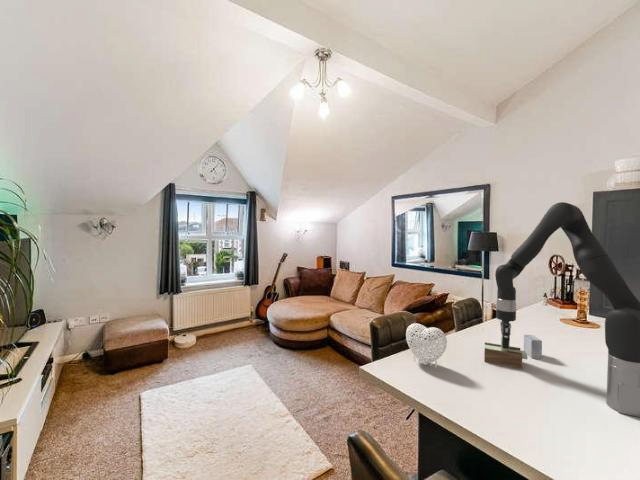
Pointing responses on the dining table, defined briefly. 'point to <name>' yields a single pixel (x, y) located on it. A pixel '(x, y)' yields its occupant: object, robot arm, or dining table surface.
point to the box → (503, 356)
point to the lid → (524, 354)
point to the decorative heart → (426, 343)
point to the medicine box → (533, 346)
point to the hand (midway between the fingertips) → (505, 346)
